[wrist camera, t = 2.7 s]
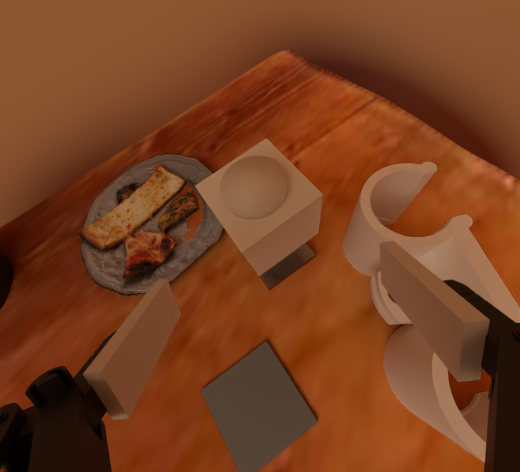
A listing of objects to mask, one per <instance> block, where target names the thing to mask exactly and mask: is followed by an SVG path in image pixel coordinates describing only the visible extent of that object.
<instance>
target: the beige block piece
mask: <svg viewBox="0 0 520 472" xmlns="http://www.w3.org/2000/svg"><path fill="white" fill-rule="evenodd" d="M195 187H196V189H197V190H198V192H199V193H200V194H201V196H202V197H203V199H204V200H205V201H206V203H207V204H208V206H209V207H210V209H211V210H212V211H213V213H214V214H215V216H216V217H217V219H218V220H219V221H220V223H221V224H222V226H223V227H224V229H225V230H226V231H227V233H228V234H229V236H230V237H231V239H232V240H233V241H234V243H235V244H236V246H237V247H238V249H239V250H240V251H241V253H242V254H243V255H244V257H245V258H246V259H247V261H248V262H249V263H250V265H251V266H252V267H253V269H254V270H255V272H256V273H257V274H258V276H260V275H262V274H263V273H264V272H266V271H267V270H269V269H270V268H271V267H273V266H274V265H275V264H277V263H278V262H280V261H281V260H282V259H284V258H285V257H286V256H288V255H289V254H291V253H292V252H293V251H295V250H296V249H297V248H299V247H300V246H302V245H303V244H304V243H306V242H307V241H308V240H310V239H311V238H313V237H314V236H315V235H317V234H318V232H319V224H320V216H321V208H322V200H323V194H322V193H321V192H320V191H319V190H318V189H317V188H316V187H315V186H314V185H313V184H312V183H311V182H310V181H309V180H308V179H307V178H306V177H305V176H304V175H303V174H302V173H301V172H300V171H299V170H298V169H297V168H296V167H295V166H294V165H293V164H292V163H291V162H290V161H289V160H288V159H287V158H286V157H285V156H284V155H283V154H282V153H281V152H280V151H279V150H278V149H277V148H276V147H275V146H274V145H273V144H272V143H271V142H270V141H269V140H268V139H267V138H266V139H264V140H263V141H261V142H260V143H258V144H257V145H255V146H254V147H252V148H251V149H249V150H248V151H246V152H245V153H243V154H242V155H240V156H239V157H237V158H236V159H234V160H233V161H231V162H230V163H228V164H227V165H225V166H224V167H222V168H221V169H219V170H218V171H216V172H215V173H213V174H212V175H210V176H209V177H207V178H206V179H204V180H203V181H201V182H200V183H198V184H197V185H195Z"/></svg>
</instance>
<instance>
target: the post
mask: <svg viewBox="0 0 520 472" xmlns="http://www.w3.org/2000/svg"><path fill="white" fill-rule="evenodd" d="M314 257H316V254H315V253H314V252H313V251H312V250H311V248H310V247H309V246H308V245H307V244H306V243H304V244H303V245H302V246H300V247H299V248H297V249H296V250H295V251H293V252H292V253H291V254H289V255H288V256H286V257H285V258H284V259H282V260H281V261H280V262H278V263H277V264H275V265H274V266H273V267H271V268H270V269H269V270H267V271H266V272H264V273H263V274H262V275H260V278H261V279H262V280H263V282H264V283H265V285H266V286H267V287H268V289H269V290H271V289H272V288H274V287H275V286H276V285H278V284H279V283H281V282H282V281H283V280H285V279H286V278H287V277H289V276H290V275H291V274H293V273H294V272H295V271H297V270H298V269H300V268H301V267H302V266H304V265H305V264H306V263H308V262H309V261H310V260H312V259H313V258H314Z"/></svg>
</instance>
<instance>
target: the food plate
mask: <svg viewBox="0 0 520 472" xmlns="http://www.w3.org/2000/svg"><path fill="white" fill-rule="evenodd" d="M137 164H138V163H137ZM135 165H136V164H135ZM135 165H134V166H132V167H133V168H132V167H130V168H129V169H130V170H129V169H128V170H129V171H128V170H126V171H125V172H124V173H123V174H121V175H120V176H119V177H118V178H117V179H115V180H114V181H113V182H112V183H111V184H112V185H111V184H110V185H109V186H108V187H107V188H105V189H106V190H105V189H104V190H103V192H101V193H100V194H99V196H98V197H97V198H96V200H95V201H94V202H93V204H92V206H91V208H90V210H89V212H88V215H87V218H86V221H85V223H84V226H83V227H81V228H80V231H79V232H78V231H77V232H78V234H79V235H80V237H81V238H82V244H81V254H82V259H83V262H84V264H85V266H86V270H87V272H88V274H89V275H90V276H91V278H92V279H93V280H94V281H95V283H96V284H98V285H99V286H101V287H103V288H106V289H109V290H112V291H114V292H117V293H118V294H121V295H128V296H130V295H135V293H137V294H145V293H146V292H148V291H149V290H150V288H151V287H152V286H153V284H154V283H155V282H156V281H161V280H168V283H169V282H170V281H172V280H174V279H175V278H176V277H177V276H178V275H179V274H180V273H181V272H183V271H184V270H185V269H186V268H188V267H189V266H190V265H191V264H192V263H193V261H195V260H196V259H197V258H198V257H200V256H201V255H202V254H203V253H204V251H205V250H206V249H207V247H209V246H211V244H212V243H213V242H214V243H216V242H217V241H218V239H219V237H220V235H221V232H222V230H223V228H224V227H223V226H222V224H221V223H220V221H219V220H218V219H217V217H216V216H215V214H214V213H213V211H212V210H211V209H210V207H209V206H208V204H207V203H206V201H205V200H204V199H203V197H202V196H201V194H200V193H199V192H198V190H197V189H196V187H195V185H197V184H198V183H200V182H201V181H203V180H204V179H206V178H207V177H209V176H210V175H212V174H213V173H212V172H211V171H210V170H209V169H207V168H206V167H205V166H204V165H203V164H202V163H200V162H199V161H198V160H197V159H195V158H189V157H184V156H181V155H162V156H157V157H153V158H151V159H149V160H146V161H143V162H141V163H139V164H138V165H137V166H135ZM131 168H132V169H131ZM186 183H187V185H188V186H190V187H191V188H192V189H193V190H194V191H195V192H196V193H197V195H199V196H200V198H201V201H202V203H203V204H202V206H203V207H204V208H203V212H204V217H203V219H201V220H202V221H203V222H202V225H201V224H200V225H199V226H198V228H197V230H196V232H198V231H199V233H198V234H195V233H194V234H195V235H196V236H195V237H194V239H192V238H193V236H192V238H190V239H189V240H185V239H186V238H185V237H183V235H185V233H186V232H187V231H189V232H190V231H192V229H193V228H188V229H186V227H187V225H185V224H186V223H187V222H188V220H184V219H186V218H187V217H188V216H189V215H191V214H192V213H194V212H195V211H197V210H199V208H197V207H198V206H197V202H198V201H197V199H196V198H195V197H194V196H192V195H191V191H189V192H188V193H186V194H183V195H181V196H179V198H178V199H176V201H175V202H173V203H172V204H171V205H170V206H169V204H170V203H171V202H172V201H173V199H174V198H175V197H177V195H178V194H179V193H180V192H181V190H182V189H184V188H183V186H185V184H186ZM173 197H174V198H173ZM168 206H169V207H168ZM165 207H168V208H165ZM200 214H201V213H200ZM190 219H191V218H190ZM152 224H153V225H152ZM181 230H182V231H181ZM194 234H193V235H194ZM180 238H181V239H180ZM182 240H185V242H188V241H190V240H191V242H192V241H193V243H192V244H191V245H190V246H188V245H189V244H190V243H191V242H190V243H189V242H188V243H187V244H185V242H184V243H182V242H181V241H182ZM214 243H213V244H214ZM180 244H182V245H181V246H180ZM180 247H181V248H182V249H179V248H180ZM185 247H186V248H185ZM187 248H188V249H187ZM184 249H185V250H184ZM183 250H184V251H183ZM178 254H179V256H178ZM177 256H178V257H177ZM186 256H187V257H186ZM136 296H137V295H136Z"/></svg>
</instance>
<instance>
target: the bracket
mask: <svg viewBox="0 0 520 472" xmlns="http://www.w3.org/2000/svg"><path fill="white" fill-rule="evenodd" d="M436 171H437V166H436V164H434V163H433V162H424V163H422V165H419V164H411V163H402V164H394V165H390V166H387V167H384V168H382V169H380V170H378V171H377V172H375V173H374V174H373V175H371V176H370V177H369V179H368V180H367V181H366V183H365V184H364V186H363V188H362V191H361V193H360V196H359V199H358V201H357V204H356V206H355V209H354V211H353V214H352V217H351V219H350V222H349V224H348V227H347V229H346V232H345V235H344V238H343V251H344V254H345V256H346V258H347V260H348V262H349V263H350V264H351V265H352V266H353V267H354V268H355V269H356V270H358V271H359V272H361V273H363V274H365V275H367V276H371V277H372V278H371V279H370V292H371V297H372V300H373V303H374V305H375V307H376V309H377V310H378V312H379V314H380V315H381V316H382V318H383V319H384V320H385V321H386V322H387V323H388V324H389V325H391V324H406V325H404V326H402V327H400V328H399V329H397V330H396V331H395V332H394V333H393V334H392V335H391V337H390V338H389V340H388V342H387V344H386V347H385V351H384V359H383V361H384V371H385V375H386V378H387V381H388V383H389V385H390V387H391V389H392V391H393V393H394V394H395V396H396V397H397V398H398V400H399V401H400V402H401V403H402V404H403V405H404V406H405V407H406V408H407V409H408V410H409V411H410V412H412V413H413V414H414V415H416V416H417V417H419V418H420V419H422V420H423V421H425V422H426V423H428V424H429V425H430V426H432V427H433V428H435V429H436V430H438V431H439V432H441V433H442V434H444V435H445V436H446V437H448V438H449V439H451V440H452V441H454V442H455V443H457V444H458V445H459V446H461V447H462V448H464V449H465V450H467V451H468V452H470V453H471V454H473V455H474V456H475V457H477V458H478V459H480V460H481V461H483V462H484V463H485V453H486V439H487V425H488V411H489V399H488V395H489V391H485V392H480V393H476V394H474V397H473V399H472V400H471V402H470V403H469V405H468V406H467V407H465V408H464V409H463V410H461V411H459V409H458V407H457V405H456V403H455V401H454V399H453V396H452V393H451V390H450V385H449V379H448V369H447V368H446V366H445V365H444V364H443V362H442V361H441V360H440V358H439V357H438V356H437V355H436V353H435V352H434V351H433V349H432V348H431V347H430V346H429V344H428V343H427V342H426V340H425V339H424V338H423V337H422V335H421V334H420V333H419V331H418V330H417V329H416V327H415V326H414V325H413V324H412V322H411V321H410V320H409V318H408V317H407V316H406V315H405V313H404V312H403V311H402V309H401V308H400V307H399V306H398V304H397V303H394V302H393V301H391V300H390V298H389V297H388V293H387V292H388V291H387V290H386V289H385V287H384V286H383V285H382V284H381V266H380V243H382V242H388V241H394V242H396V243H397V244H398V245H399V246H401V247H402V248H403V249H404V250H405V251H407V252H408V253H409V254H410V255H411V256H413V257H414V258H415V259H416V260H418V261H419V262H420V263H421V264H422V265H424V266H425V267H426V268H427V269H428V270H430V271H431V272H432V273H433V274H435V275H436V276H437V277H438V278H439V279H441V280H442V281H444V280H451V279H453V280H455V281H457V282H460V283H462V284H464V285H466V286H468V287H469V288H470V289H472V290H473V291H474V292H475V293H476V294H478V295H480V296H481V297H482V298H484V300H486V301H488V302H489V303H490V304H492V305H493V306H494V307H496V308H497V309H498V310H500V311H501V312H502V313H504V314H505V315H506V316H508V317H509V318H510V319H512V320H513V321H514V322H516V323H517V322H518V323H520V307H519V306H518V304H517V303H516V301H515V300H514V298H513V297H512V295H511V294H510V292H509V290H508V289H507V287H506V286H505V284H504V283H503V281H502V280H501V278H500V276H499V275H498V273H497V272H496V270H495V269H494V267H493V266H492V264H491V263H490V261H489V259H488V258H487V256H486V255H485V253H484V252H483V250H482V249H481V247H480V245H479V244H478V242H477V241H476V239H475V238H474V236H473V235H472V233H471V232H470V230H469V227H470V226H472V224H473V221H472V218H471V217H470V216H468V215H466V214H464V215H460V216H456V217H452V218H451V219H450V220H449V221H447V222H446V223H445V224H444V225H443V227H442V228H441V229H439V230H438V231H437V232H436V233H434V234H433V235H430V236H426V237H409V236H404V235H400V234H398V233H395V232H393V231H391V230H389V229H388V228H386V227H385V226H384V225H390V224H394V223H396V221H397V220H398V219H399V218H400V216H401V215H402V214H403V212H404V211H405V210H406V209H407V207H408V206H409V205H410V204H411V202H412V201H413V200H414V198H415V197H416V196H417V195H418V193H419V192H420V191H421V190H422V188H423V187H424V186H425V185H426V183H427V182H428V181H429V179H430V178H431V177H432V176H433V174H434V173H435V172H436ZM382 224H384V225H382Z"/></svg>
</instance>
